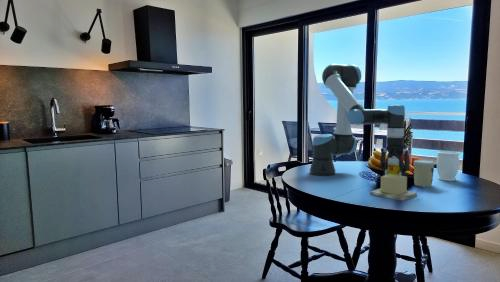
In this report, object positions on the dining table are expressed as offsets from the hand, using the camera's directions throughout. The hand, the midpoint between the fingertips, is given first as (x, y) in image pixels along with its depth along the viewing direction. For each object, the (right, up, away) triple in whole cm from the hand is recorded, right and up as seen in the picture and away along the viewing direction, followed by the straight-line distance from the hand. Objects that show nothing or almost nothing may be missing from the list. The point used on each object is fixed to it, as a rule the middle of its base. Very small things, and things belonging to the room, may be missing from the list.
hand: (393, 183), depth 162 cm
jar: (+36, 0, +16) cm, 39 cm away
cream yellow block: (-6, -2, -13) cm, 15 cm away
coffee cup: (+17, -1, +5) cm, 18 cm away
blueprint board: (-6, -3, -13) cm, 15 cm away
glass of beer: (0, -2, 0) cm, 2 cm away
